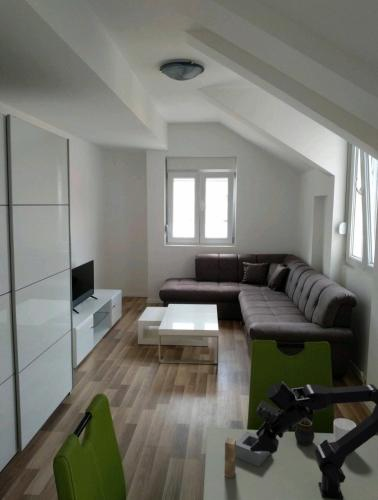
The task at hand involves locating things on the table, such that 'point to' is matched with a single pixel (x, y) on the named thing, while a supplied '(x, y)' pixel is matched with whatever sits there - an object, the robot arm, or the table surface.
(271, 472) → the table surface
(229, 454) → the tall wooden pillar block
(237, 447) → the grey square socket holder
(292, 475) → the table surface
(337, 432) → the white cup
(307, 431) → the mate gourd
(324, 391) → the robot arm
